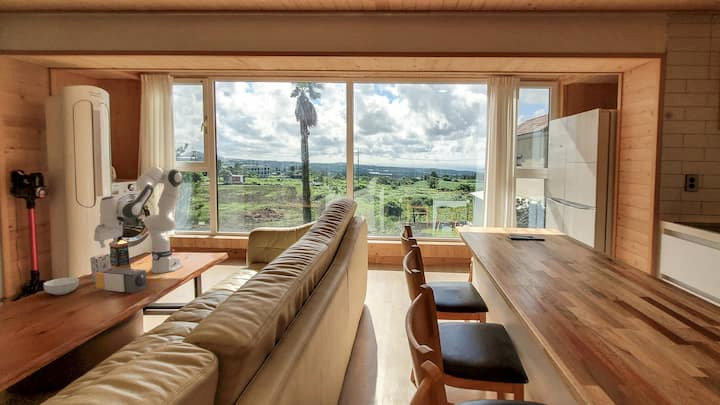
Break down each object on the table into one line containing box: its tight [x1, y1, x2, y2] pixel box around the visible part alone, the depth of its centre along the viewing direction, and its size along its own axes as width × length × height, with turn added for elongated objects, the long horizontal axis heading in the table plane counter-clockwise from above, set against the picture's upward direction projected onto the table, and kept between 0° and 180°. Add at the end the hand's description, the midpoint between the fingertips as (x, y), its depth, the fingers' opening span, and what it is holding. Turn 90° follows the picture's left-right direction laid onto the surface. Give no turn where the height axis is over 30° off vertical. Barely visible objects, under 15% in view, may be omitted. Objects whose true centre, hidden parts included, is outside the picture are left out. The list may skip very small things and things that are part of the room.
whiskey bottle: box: [108, 235, 132, 270], centre depth 284 cm, size 10×10×32 cm
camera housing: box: [105, 268, 148, 294], centre depth 246 cm, size 10×22×12 cm, turn 74°
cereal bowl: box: [43, 277, 80, 296], centre depth 239 cm, size 17×17×7 cm
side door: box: [95, 272, 126, 293], centre depth 242 cm, size 20×2×10 cm, turn 74°
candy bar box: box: [89, 253, 111, 284], centre depth 262 cm, size 11×5×16 cm, turn 168°
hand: (108, 246), depth 248 cm, fingers open, 8 cm apart
